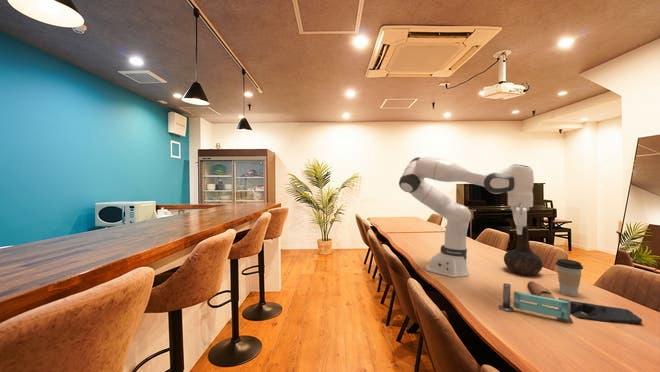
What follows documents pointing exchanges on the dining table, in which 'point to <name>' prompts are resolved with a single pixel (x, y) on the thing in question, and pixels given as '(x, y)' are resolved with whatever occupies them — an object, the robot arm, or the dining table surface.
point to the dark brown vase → (523, 257)
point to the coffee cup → (569, 276)
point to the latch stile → (568, 312)
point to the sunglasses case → (539, 290)
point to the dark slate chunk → (602, 313)
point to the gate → (539, 308)
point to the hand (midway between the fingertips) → (519, 234)
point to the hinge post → (506, 299)
